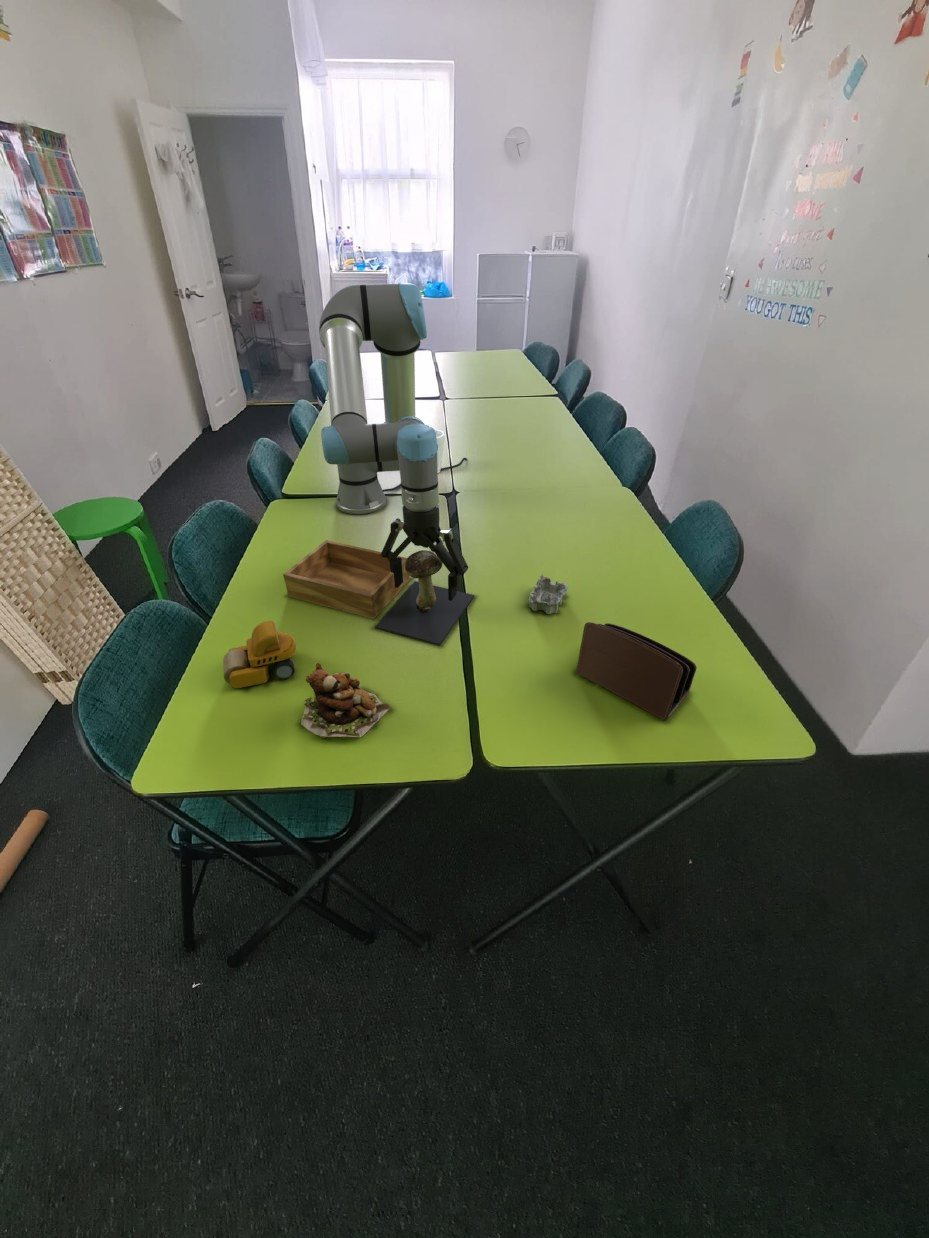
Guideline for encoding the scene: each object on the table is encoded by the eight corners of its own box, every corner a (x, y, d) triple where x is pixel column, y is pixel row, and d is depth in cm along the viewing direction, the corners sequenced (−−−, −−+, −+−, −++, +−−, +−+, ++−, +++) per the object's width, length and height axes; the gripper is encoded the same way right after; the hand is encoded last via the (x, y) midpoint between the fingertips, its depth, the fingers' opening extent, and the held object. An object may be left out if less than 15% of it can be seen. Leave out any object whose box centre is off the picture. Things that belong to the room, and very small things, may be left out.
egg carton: (540, 586, 139) (541, 572, 136) (569, 594, 136) (571, 580, 134) (524, 609, 131) (525, 594, 129) (554, 617, 128) (556, 603, 126)
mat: (415, 583, 140) (415, 581, 140) (474, 597, 135) (474, 595, 135) (375, 628, 125) (374, 626, 125) (439, 646, 120) (439, 643, 120)
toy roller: (226, 665, 116) (212, 625, 109) (296, 649, 120) (287, 610, 113) (227, 694, 109) (213, 653, 103) (302, 675, 113) (292, 635, 107)
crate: (329, 560, 149) (326, 539, 145) (409, 579, 141) (408, 558, 138) (288, 596, 136) (282, 574, 132) (374, 619, 128) (371, 596, 124)
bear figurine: (360, 753, 97) (352, 704, 90) (289, 728, 102) (276, 679, 94) (397, 701, 107) (392, 653, 100) (331, 680, 112) (322, 633, 104)
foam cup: (416, 474, 195) (413, 437, 187) (422, 464, 202) (420, 428, 194) (442, 476, 193) (441, 439, 186) (447, 466, 201) (446, 430, 193)
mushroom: (438, 624, 126) (436, 567, 116) (402, 619, 127) (397, 563, 118) (448, 600, 133) (447, 545, 124) (413, 596, 134) (409, 541, 125)
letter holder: (665, 722, 103) (683, 665, 94) (574, 673, 113) (583, 618, 105) (689, 693, 109) (707, 637, 100) (600, 649, 119) (610, 595, 111)
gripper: (358, 502, 115) (369, 587, 128) (470, 523, 107) (469, 612, 120) (376, 487, 120) (385, 571, 133) (484, 507, 113) (482, 594, 126)
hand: (425, 591), depth 127 cm, fingers open, 13 cm apart
